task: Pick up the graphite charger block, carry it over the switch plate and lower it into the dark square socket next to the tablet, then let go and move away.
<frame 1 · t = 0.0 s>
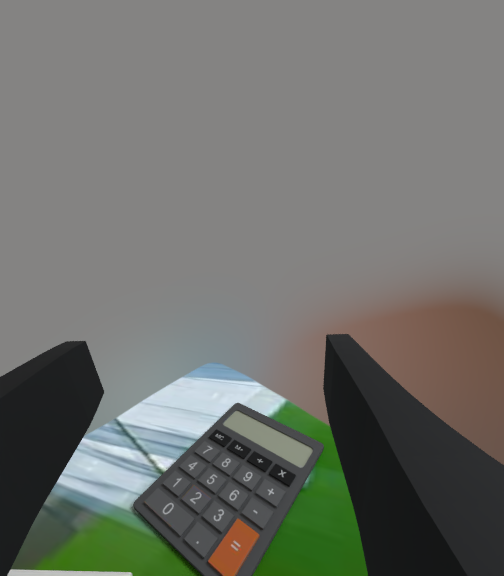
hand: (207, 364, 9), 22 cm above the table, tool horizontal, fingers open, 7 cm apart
calculator: (236, 479, 29), on the table
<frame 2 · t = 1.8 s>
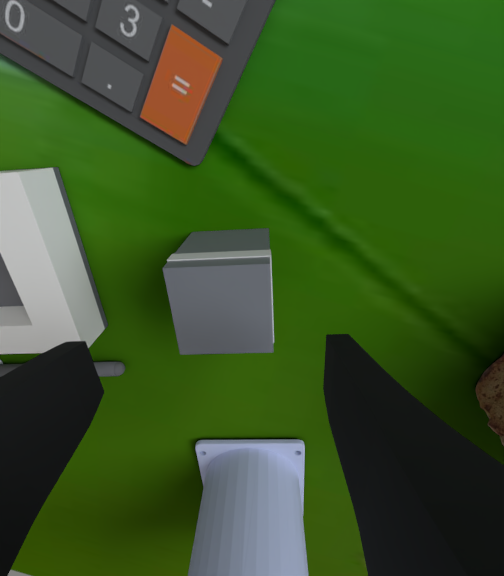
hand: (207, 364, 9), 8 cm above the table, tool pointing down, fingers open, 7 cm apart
cable: (61, 365, 20), on the table
charger: (233, 266, 16), on the table
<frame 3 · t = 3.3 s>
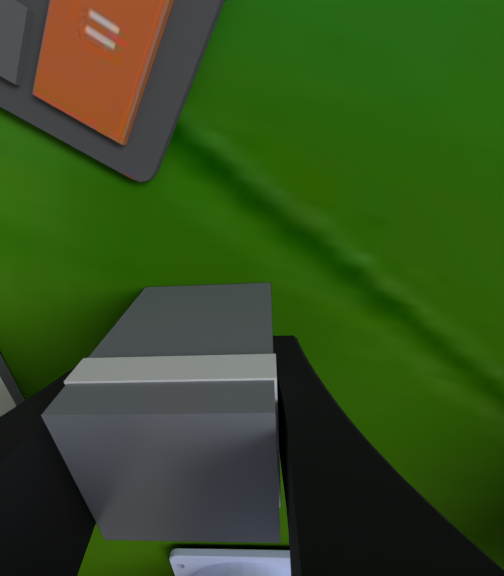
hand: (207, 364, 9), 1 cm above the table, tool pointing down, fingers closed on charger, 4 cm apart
charger: (214, 337, 10), on the table, touching gripper
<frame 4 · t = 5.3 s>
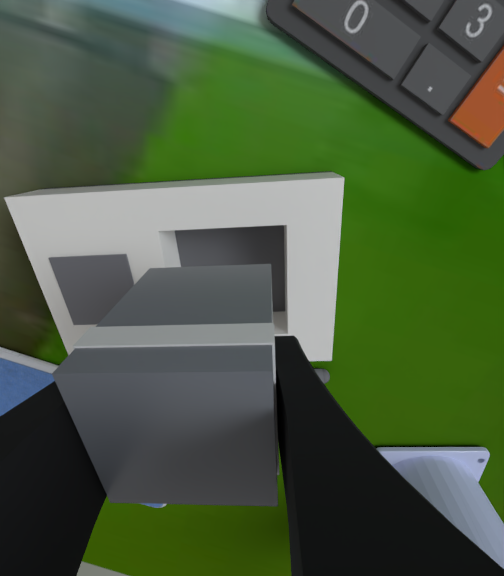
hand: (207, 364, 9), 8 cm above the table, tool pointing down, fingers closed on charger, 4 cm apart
switch plate: (196, 266, 16), on the table
tablet computer: (69, 418, 23), on the table
charger: (216, 318, 11), point 6 cm above the table, touching gripper
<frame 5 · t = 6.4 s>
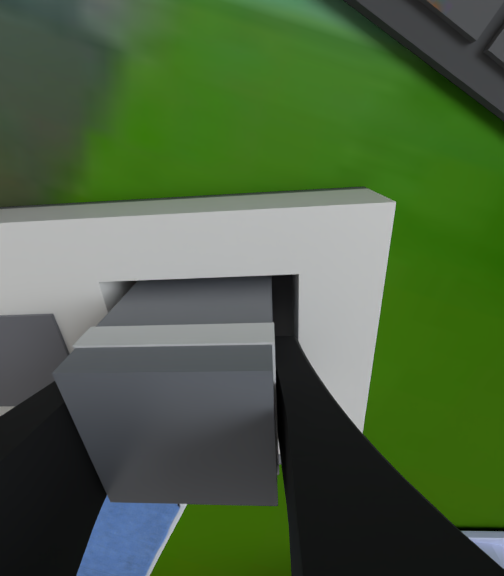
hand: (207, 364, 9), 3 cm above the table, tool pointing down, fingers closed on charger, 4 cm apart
switch plate: (169, 316, 12), on the table
tablet computer: (20, 487, 19), on the table
charger: (216, 318, 11), point 1 cm above the table, touching gripper
when the fingers open (3 cm above the table, at t = 7.2 s): charger stays where it is, resting on switch plate.
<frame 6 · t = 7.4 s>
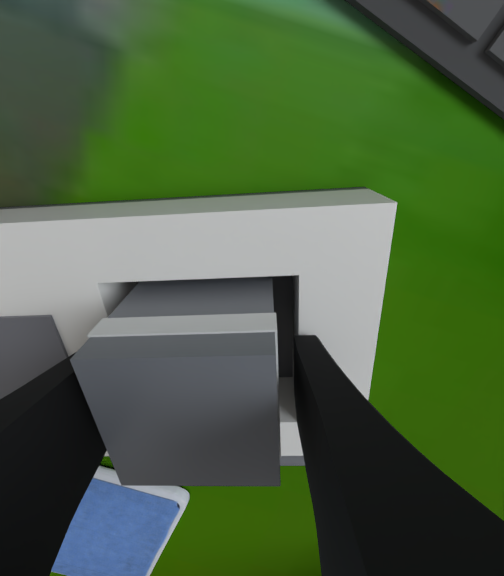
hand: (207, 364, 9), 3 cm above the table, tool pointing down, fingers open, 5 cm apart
switch plate: (169, 317, 12), on the table
tablet computer: (19, 488, 19), on the table
charger: (218, 312, 11), resting on switch plate
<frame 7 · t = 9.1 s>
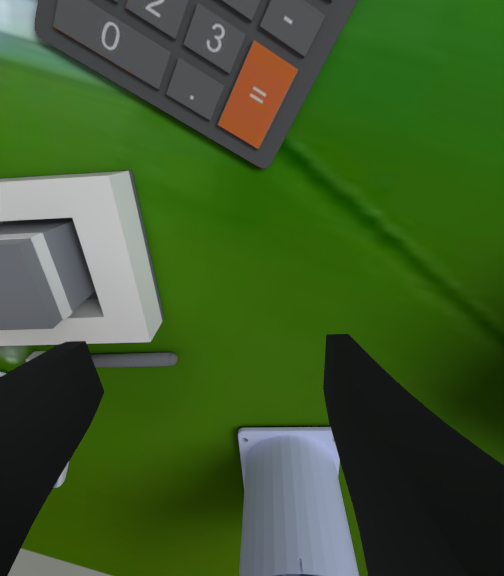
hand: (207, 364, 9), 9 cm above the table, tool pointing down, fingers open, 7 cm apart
switch plate: (35, 257, 18), on the table
cable: (116, 356, 21), on the table
charger: (62, 252, 17), resting on switch plate
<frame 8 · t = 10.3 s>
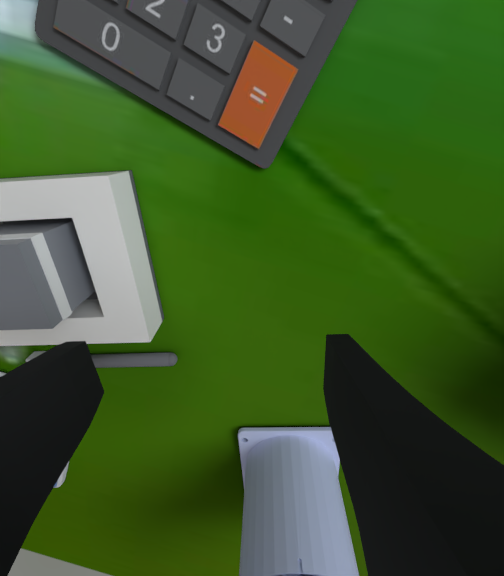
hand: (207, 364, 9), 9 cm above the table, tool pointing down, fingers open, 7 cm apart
switch plate: (35, 257, 18), on the table
cable: (116, 356, 21), on the table
charger: (62, 252, 17), resting on switch plate
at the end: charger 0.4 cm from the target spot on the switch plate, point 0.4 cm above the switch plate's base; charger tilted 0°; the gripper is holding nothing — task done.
